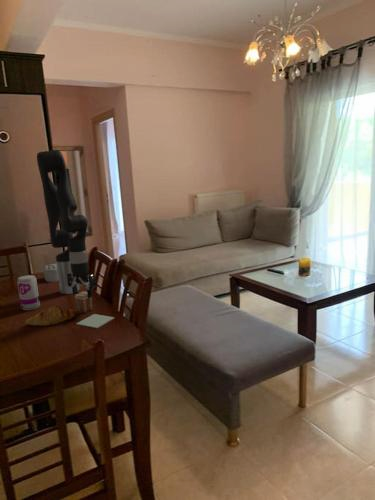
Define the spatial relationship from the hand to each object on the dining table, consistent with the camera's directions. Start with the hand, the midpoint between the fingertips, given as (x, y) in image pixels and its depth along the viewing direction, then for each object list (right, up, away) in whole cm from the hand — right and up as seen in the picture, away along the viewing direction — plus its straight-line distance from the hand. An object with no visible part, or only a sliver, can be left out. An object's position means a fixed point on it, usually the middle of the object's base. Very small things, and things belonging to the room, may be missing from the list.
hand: (82, 296), depth 166 cm
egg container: (-33, +3, +58) cm, 67 cm away
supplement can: (-27, -7, +9) cm, 30 cm away
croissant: (-10, -10, -8) cm, 16 cm away
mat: (+8, -9, -11) cm, 17 cm away
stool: (+1, -7, +2) cm, 7 cm away
